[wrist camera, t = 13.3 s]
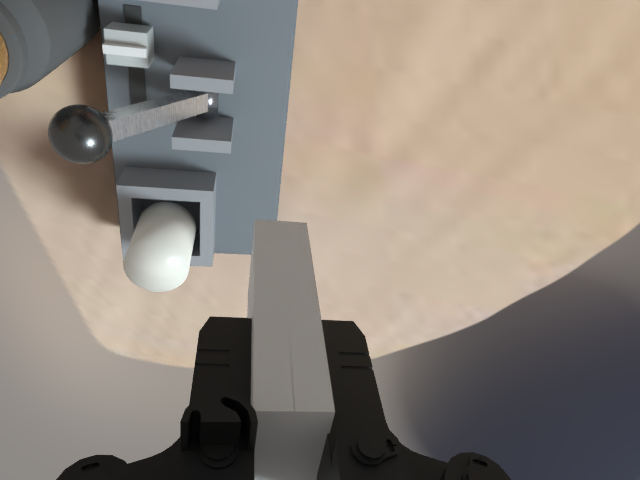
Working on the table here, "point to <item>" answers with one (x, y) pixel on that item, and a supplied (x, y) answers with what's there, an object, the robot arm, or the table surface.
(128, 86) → the panel
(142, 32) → the slider grey
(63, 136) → the lever
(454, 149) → the table surface
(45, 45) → the bottle
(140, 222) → the button ivory
